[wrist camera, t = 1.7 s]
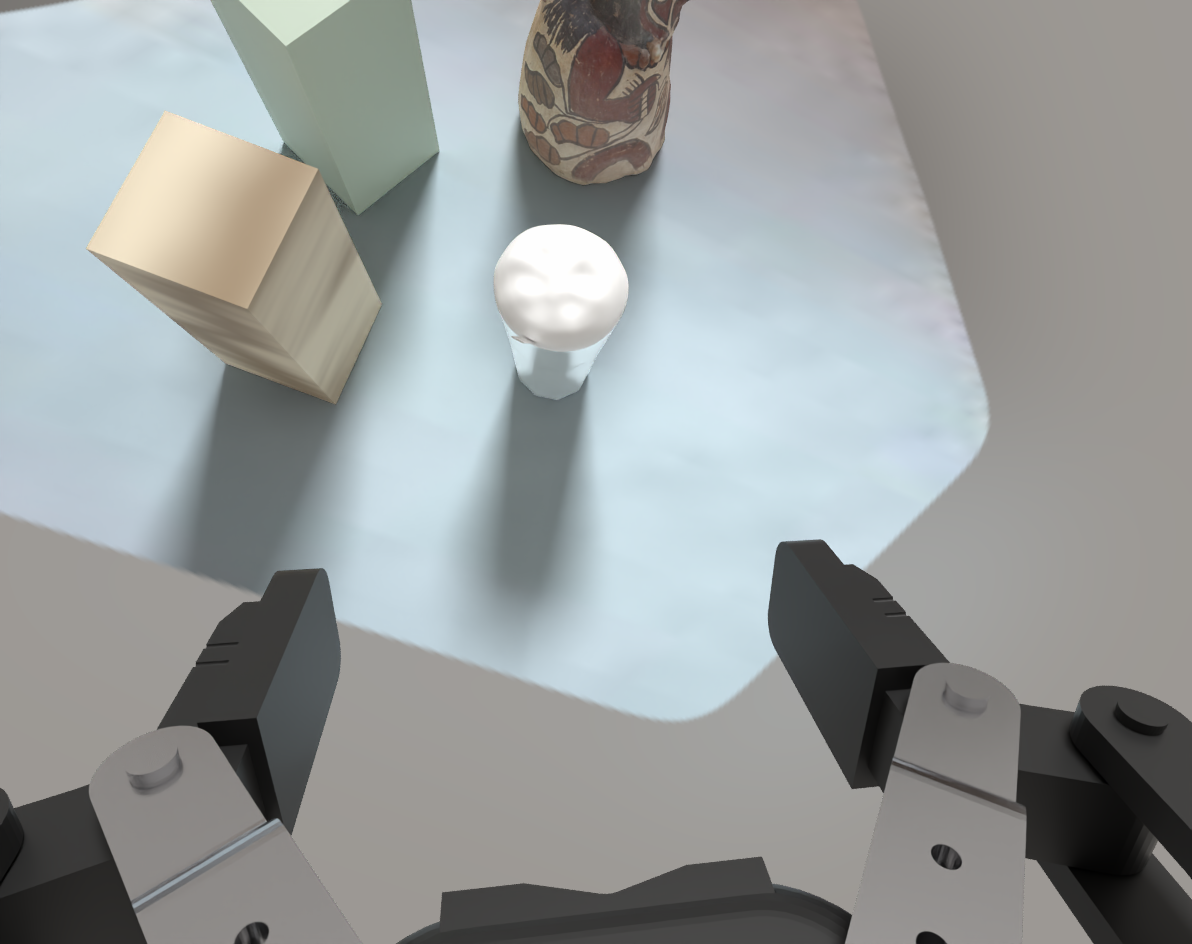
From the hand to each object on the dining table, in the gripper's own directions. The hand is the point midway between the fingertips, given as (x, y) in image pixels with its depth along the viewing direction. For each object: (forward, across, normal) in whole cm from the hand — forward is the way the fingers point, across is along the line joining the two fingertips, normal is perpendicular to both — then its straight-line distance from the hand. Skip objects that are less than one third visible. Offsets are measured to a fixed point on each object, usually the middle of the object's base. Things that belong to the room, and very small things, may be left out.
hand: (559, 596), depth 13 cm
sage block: (+27, +7, -7) cm, 29 cm away
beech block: (+22, +10, 0) cm, 24 cm away
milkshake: (+20, -1, +2) cm, 21 cm away
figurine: (+28, -4, -8) cm, 29 cm away
